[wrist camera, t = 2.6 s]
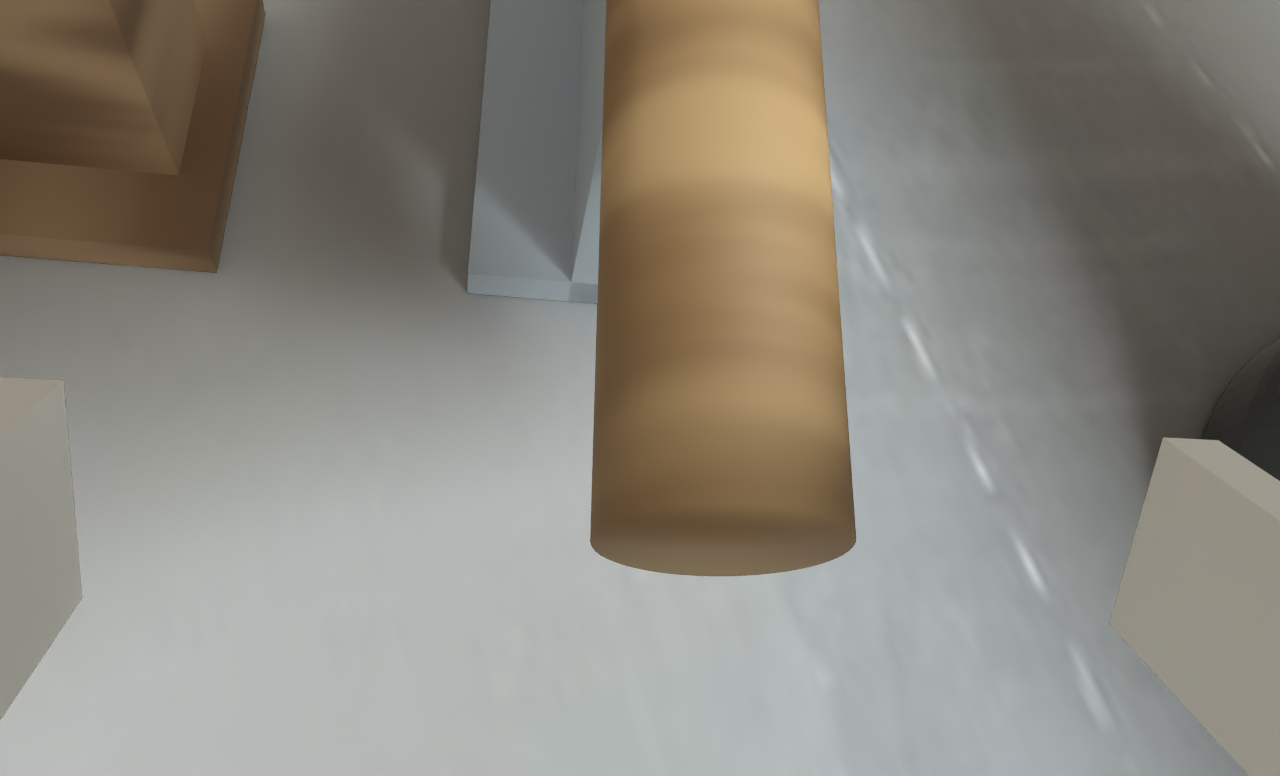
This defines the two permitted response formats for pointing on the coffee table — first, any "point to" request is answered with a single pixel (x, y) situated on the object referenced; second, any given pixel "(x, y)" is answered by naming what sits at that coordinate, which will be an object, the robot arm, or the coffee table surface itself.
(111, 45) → the wooden stand
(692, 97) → the rod
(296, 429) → the coffee table surface
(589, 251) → the cradle
